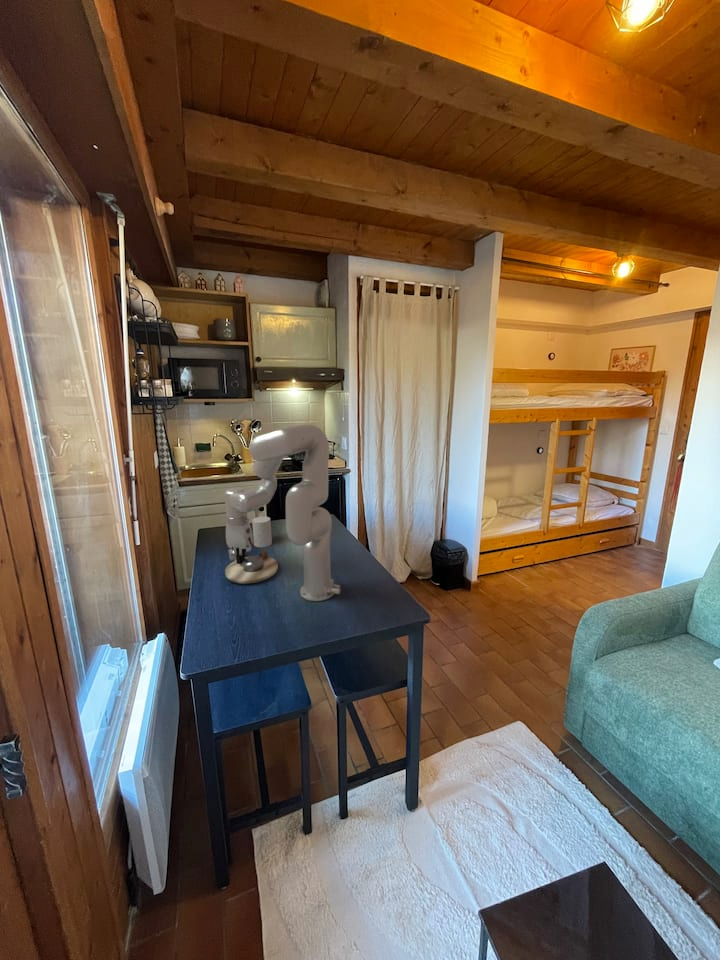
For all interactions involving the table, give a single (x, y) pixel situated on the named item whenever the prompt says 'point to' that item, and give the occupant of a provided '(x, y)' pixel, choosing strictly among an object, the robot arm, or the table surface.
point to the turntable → (240, 576)
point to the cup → (262, 531)
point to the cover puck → (253, 564)
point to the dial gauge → (232, 555)
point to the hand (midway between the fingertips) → (241, 562)
